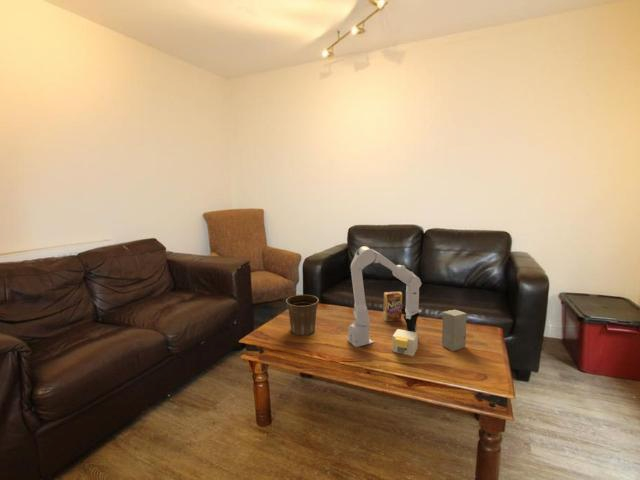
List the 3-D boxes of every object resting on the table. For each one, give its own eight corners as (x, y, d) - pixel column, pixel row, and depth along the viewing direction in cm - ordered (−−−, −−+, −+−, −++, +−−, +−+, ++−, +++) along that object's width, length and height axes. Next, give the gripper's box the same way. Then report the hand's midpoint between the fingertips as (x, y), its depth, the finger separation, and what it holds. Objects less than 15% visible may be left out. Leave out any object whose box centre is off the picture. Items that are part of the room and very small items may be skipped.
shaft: (405, 355, 131) (405, 343, 131) (395, 353, 133) (395, 341, 132) (416, 335, 150) (416, 324, 149) (407, 333, 151) (408, 322, 151)
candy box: (385, 321, 169) (386, 294, 167) (383, 318, 173) (383, 291, 171) (401, 320, 170) (402, 293, 168) (398, 317, 174) (399, 290, 172)
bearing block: (413, 356, 134) (413, 340, 133) (392, 351, 138) (392, 336, 137) (417, 347, 141) (418, 332, 140) (397, 343, 145) (397, 328, 144)
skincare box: (453, 352, 137) (454, 316, 134) (440, 345, 143) (441, 311, 140) (466, 347, 140) (468, 313, 138) (453, 340, 147) (454, 307, 144)
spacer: (406, 348, 131) (406, 341, 130) (394, 345, 133) (394, 339, 133) (408, 344, 134) (408, 338, 133) (396, 342, 136) (397, 335, 136)
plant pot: (322, 335, 154) (322, 303, 152) (289, 339, 151) (288, 307, 148) (315, 322, 170) (314, 293, 168) (285, 325, 166) (284, 296, 164)
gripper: (417, 306, 138) (416, 336, 140) (424, 296, 151) (423, 324, 153) (401, 304, 142) (400, 333, 144) (409, 294, 154) (408, 321, 156)
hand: (411, 328), depth 149 cm, fingers open, 5 cm apart
